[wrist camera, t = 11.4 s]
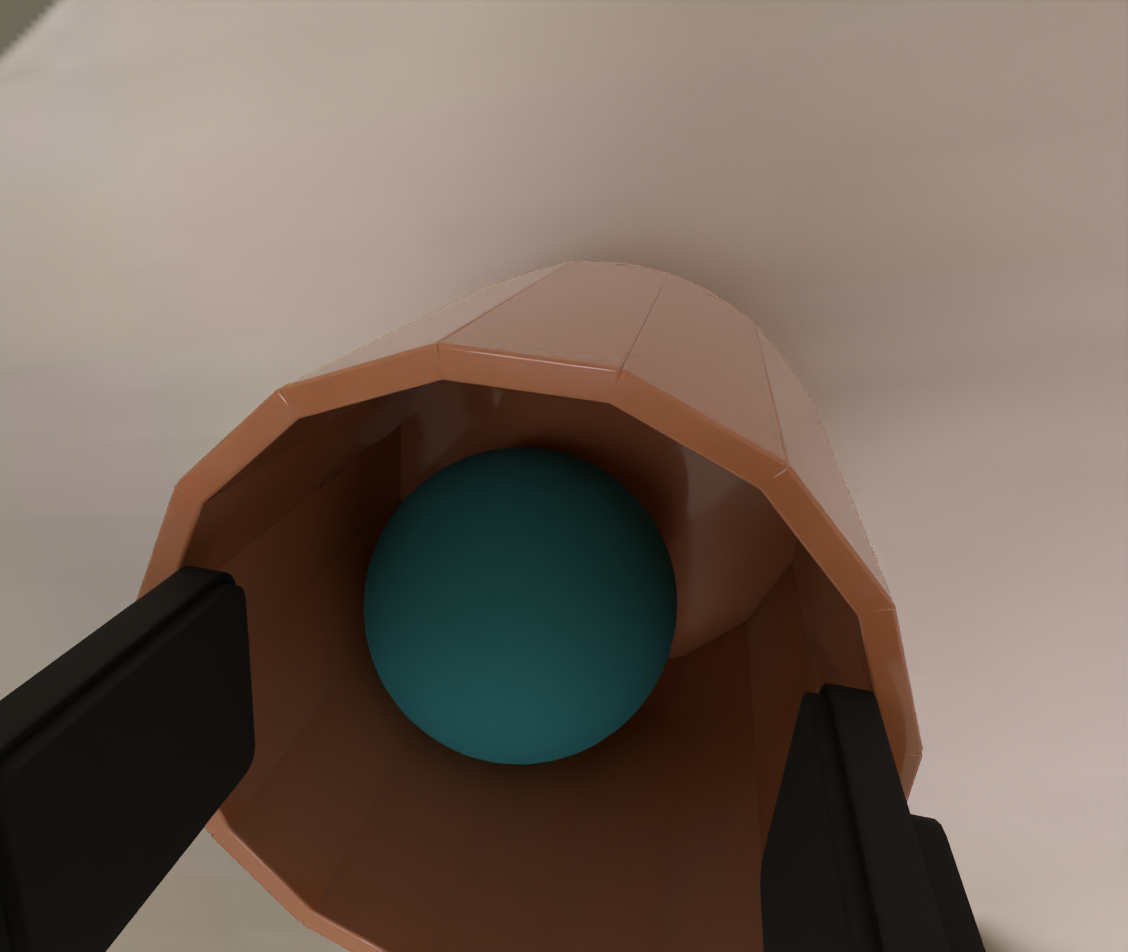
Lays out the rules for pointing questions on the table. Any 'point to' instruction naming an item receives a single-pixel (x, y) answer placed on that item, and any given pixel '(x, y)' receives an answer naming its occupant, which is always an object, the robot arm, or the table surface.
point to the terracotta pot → (662, 723)
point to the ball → (520, 605)
